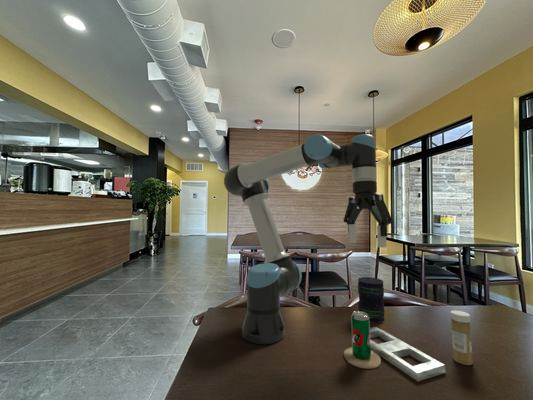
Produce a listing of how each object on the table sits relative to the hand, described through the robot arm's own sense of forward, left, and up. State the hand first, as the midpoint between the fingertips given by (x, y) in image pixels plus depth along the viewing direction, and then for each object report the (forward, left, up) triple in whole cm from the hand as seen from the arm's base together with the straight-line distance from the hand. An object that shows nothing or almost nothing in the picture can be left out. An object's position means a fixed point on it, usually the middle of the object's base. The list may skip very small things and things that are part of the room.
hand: (366, 244), depth 82 cm
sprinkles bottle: (+17, +18, -32) cm, 40 cm away
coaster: (+6, -8, -32) cm, 33 cm away
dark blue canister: (-16, +16, -32) cm, 39 cm away
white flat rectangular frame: (+7, +3, -32) cm, 33 cm away
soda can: (+6, -8, -31) cm, 33 cm away
